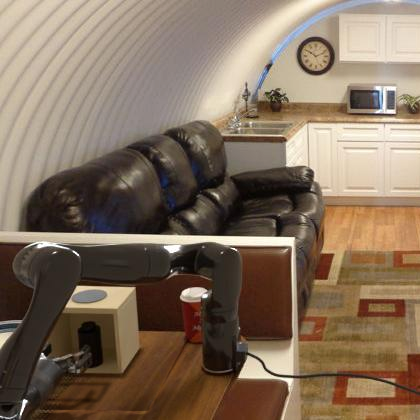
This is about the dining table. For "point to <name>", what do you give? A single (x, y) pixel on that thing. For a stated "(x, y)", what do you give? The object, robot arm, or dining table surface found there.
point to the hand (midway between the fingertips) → (68, 347)
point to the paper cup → (192, 313)
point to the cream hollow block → (107, 320)
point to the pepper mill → (91, 341)
